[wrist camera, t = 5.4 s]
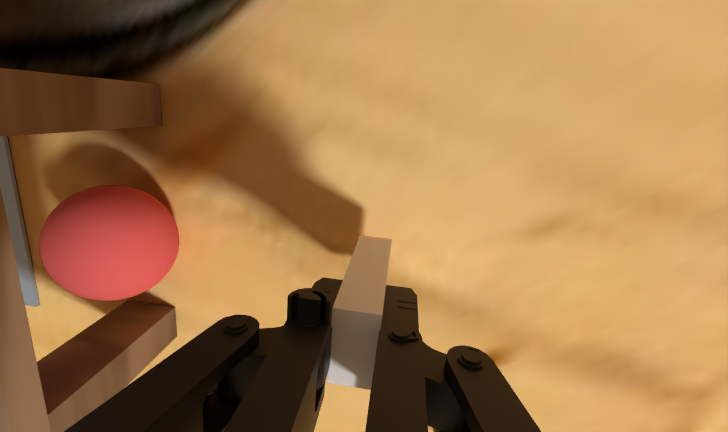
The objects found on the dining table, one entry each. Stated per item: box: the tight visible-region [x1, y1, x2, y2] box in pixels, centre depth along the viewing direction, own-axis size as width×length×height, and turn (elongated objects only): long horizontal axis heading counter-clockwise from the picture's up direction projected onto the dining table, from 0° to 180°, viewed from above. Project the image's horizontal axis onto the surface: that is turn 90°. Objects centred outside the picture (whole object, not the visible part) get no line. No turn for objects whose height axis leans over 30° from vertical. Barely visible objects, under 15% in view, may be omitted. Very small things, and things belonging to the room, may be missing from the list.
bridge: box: [0, 68, 177, 432], centre depth 16 cm, size 3×14×9 cm, turn 175°
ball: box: [39, 185, 179, 301], centre depth 18 cm, size 6×6×6 cm
